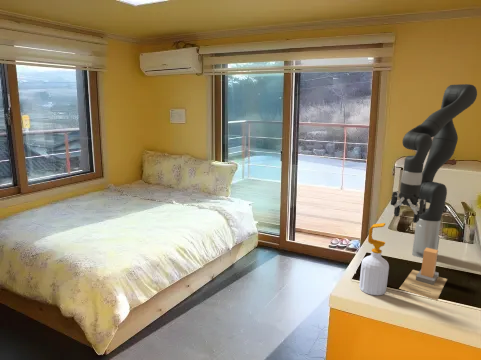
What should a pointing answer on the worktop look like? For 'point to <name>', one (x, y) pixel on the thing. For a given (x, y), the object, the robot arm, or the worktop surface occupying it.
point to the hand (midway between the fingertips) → (405, 219)
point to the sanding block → (428, 267)
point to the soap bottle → (374, 268)
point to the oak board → (423, 286)
